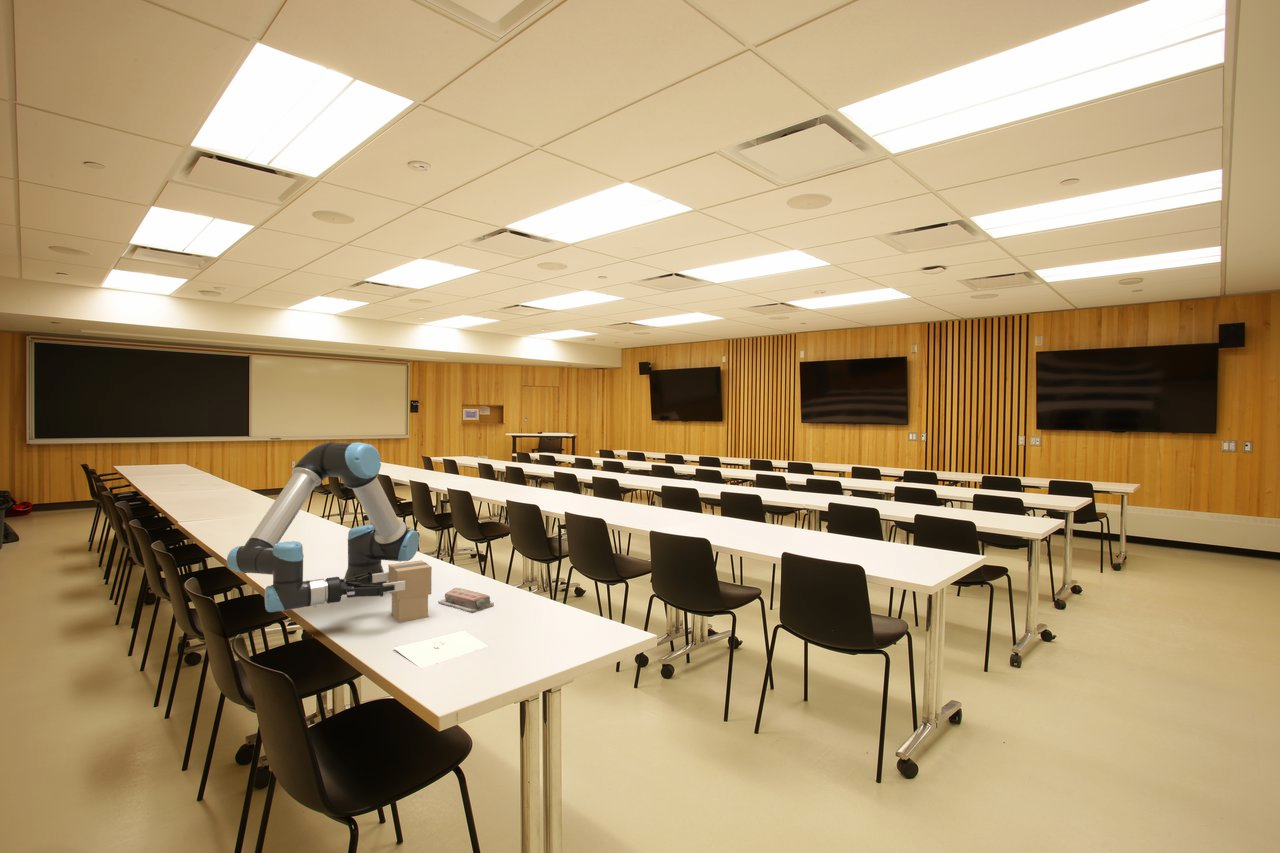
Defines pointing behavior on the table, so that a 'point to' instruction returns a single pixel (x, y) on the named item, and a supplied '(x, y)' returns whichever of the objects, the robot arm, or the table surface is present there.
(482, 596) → the packaged product
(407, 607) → the tan tall box
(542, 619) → the table surface
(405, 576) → the brown cardboard block
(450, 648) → the paper sheet
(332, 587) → the robot arm
